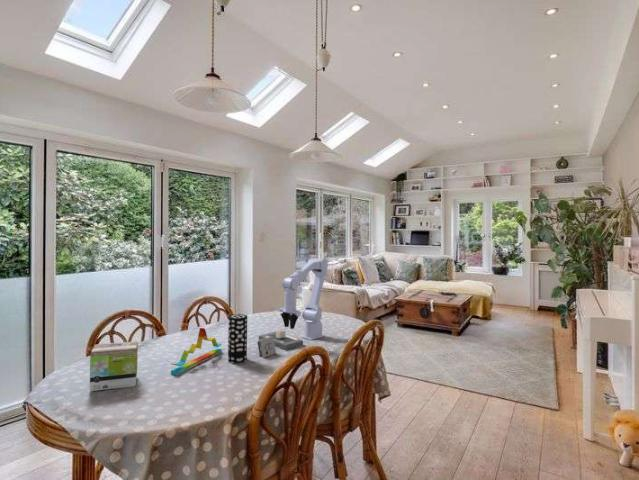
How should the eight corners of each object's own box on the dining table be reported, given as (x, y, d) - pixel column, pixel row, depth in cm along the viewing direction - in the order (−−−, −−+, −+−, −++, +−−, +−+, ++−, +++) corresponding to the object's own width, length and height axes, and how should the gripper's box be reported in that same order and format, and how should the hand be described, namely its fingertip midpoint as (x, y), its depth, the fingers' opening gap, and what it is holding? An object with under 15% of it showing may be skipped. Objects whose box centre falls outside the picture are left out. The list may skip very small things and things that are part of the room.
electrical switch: (263, 358, 170) (262, 340, 170) (256, 357, 173) (256, 339, 173) (276, 353, 177) (275, 336, 177) (269, 352, 180) (268, 335, 180)
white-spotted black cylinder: (250, 358, 169) (250, 315, 169) (240, 364, 162) (241, 319, 161) (234, 356, 172) (235, 313, 172) (224, 362, 164) (224, 317, 164)
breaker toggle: (281, 335, 196) (281, 328, 196) (285, 336, 194) (285, 329, 194) (275, 337, 193) (275, 330, 193) (279, 338, 191) (279, 331, 191)
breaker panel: (276, 336, 206) (276, 331, 206) (303, 345, 190) (303, 340, 190) (258, 340, 197) (258, 335, 197) (285, 350, 182) (285, 345, 182)
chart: (177, 376, 148) (177, 339, 148) (170, 374, 149) (171, 338, 149) (222, 353, 177) (222, 322, 176) (216, 352, 178) (217, 321, 177)
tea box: (89, 393, 131) (89, 352, 131) (93, 382, 140) (93, 343, 140) (136, 386, 137) (136, 347, 137) (137, 376, 146) (138, 339, 146)
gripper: (274, 300, 191) (274, 326, 191) (293, 304, 180) (293, 332, 181) (285, 298, 196) (284, 323, 196) (304, 302, 185) (303, 329, 186)
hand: (289, 327), depth 189 cm, fingers open, 4 cm apart
